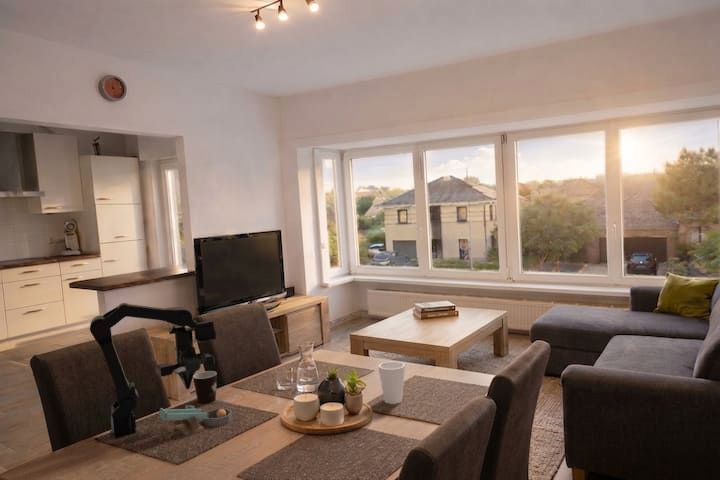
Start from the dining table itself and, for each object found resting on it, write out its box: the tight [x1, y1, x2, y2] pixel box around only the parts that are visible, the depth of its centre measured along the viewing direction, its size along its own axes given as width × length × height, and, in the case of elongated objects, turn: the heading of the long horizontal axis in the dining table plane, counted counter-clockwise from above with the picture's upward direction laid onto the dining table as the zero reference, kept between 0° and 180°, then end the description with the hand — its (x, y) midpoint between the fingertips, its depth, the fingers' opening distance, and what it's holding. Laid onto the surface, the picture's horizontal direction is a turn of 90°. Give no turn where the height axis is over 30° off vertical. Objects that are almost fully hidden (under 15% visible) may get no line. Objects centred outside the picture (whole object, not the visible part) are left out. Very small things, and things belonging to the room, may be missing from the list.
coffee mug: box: [192, 370, 218, 405], centre depth 200 cm, size 12×9×10 cm
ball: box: [216, 408, 226, 418], centre depth 181 cm, size 3×3×3 cm
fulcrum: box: [157, 416, 205, 441], centre depth 172 cm, size 13×8×5 cm, turn 129°
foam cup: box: [378, 360, 406, 405], centre depth 190 cm, size 10×9×13 cm
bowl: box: [202, 408, 233, 427], centre depth 180 cm, size 9×9×2 cm
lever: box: [158, 405, 207, 421], centre depth 176 cm, size 14×13×3 cm
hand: (187, 388), depth 183 cm, fingers closed
